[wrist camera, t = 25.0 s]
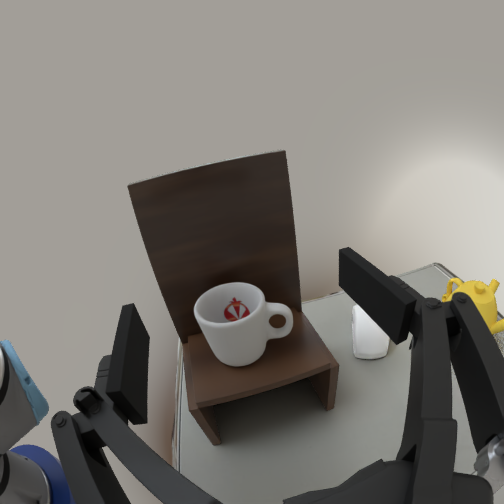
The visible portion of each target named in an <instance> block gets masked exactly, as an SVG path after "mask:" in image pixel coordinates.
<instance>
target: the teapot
mask: <svg viewBox="0 0 504 504" xmlns="http://www.w3.org/2000/svg"><path fill="white" fill-rule="evenodd" d="M453 282H454V283H456V284H457V285H458V288H457V289H456V290H455V291H454V292H453V293H452V284H453ZM498 286H499V282H498V281H497V280H495V279H492V281H491V283H490V284H489V286H487V285H486V284H484V283H483V282H481V281H467V282H465V283H463V282H462V281H461V280H460V279H458V278H452V279H450V280H449V282H448V284H447V294H444V295H443V296H442V301H443V302H447V301H451V299H452V295H453V294H454V293H456V292H464V293H466V294H468V295H469V296H470V297H471V299H472V300H473V302H474V304H475V305H476V307H477V309H478V310H479V312H480V314H481V315H482V317H483V319H484V321H485V322H486V324H487V326H488V328H489V330H490V332H491V333H492V335H493V334H495V333H498V332H501V331H503V330H504V319H502V320H500V321H498V322H496V321H497V304H496V299H495V296H494V294H495V292H496V290H497V288H498ZM446 297H447V298H446Z"/></svg>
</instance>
